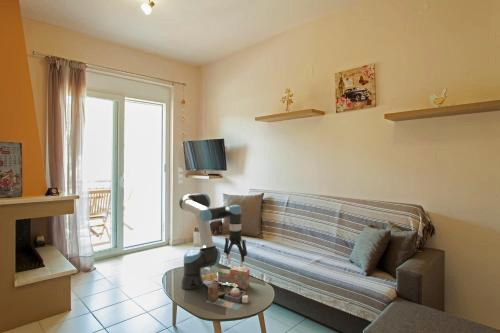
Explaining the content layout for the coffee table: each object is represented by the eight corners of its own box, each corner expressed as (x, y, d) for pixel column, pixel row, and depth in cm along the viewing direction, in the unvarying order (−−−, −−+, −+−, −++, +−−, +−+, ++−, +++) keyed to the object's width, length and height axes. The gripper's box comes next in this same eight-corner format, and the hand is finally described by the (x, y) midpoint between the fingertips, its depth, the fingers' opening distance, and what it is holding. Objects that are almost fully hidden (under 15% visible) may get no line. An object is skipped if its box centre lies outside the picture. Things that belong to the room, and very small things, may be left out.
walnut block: (207, 301, 181) (207, 286, 180) (211, 297, 185) (211, 283, 184) (214, 302, 179) (213, 288, 178) (217, 299, 183) (217, 285, 182)
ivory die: (242, 302, 179) (242, 297, 179) (243, 300, 183) (243, 294, 182) (247, 303, 179) (247, 297, 179) (248, 300, 182) (248, 295, 182)
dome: (228, 297, 183) (228, 289, 183) (233, 292, 189) (233, 284, 189) (237, 299, 180) (237, 291, 180) (242, 295, 186) (242, 286, 186)
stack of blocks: (217, 284, 204) (217, 267, 204) (221, 281, 210) (221, 264, 210) (246, 289, 197) (246, 271, 197) (249, 285, 203) (249, 268, 203)
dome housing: (224, 300, 183) (224, 295, 183) (232, 293, 192) (232, 288, 192) (238, 303, 178) (238, 298, 178) (245, 296, 187) (245, 291, 187)
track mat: (206, 302, 180) (206, 301, 180) (212, 297, 186) (212, 296, 186) (237, 310, 170) (237, 310, 170) (242, 305, 176) (242, 304, 176)
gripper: (217, 229, 184) (218, 264, 185) (247, 233, 175) (247, 270, 176) (224, 226, 191) (224, 260, 192) (253, 230, 182) (252, 266, 183)
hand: (235, 265), depth 184 cm, fingers open, 8 cm apart
